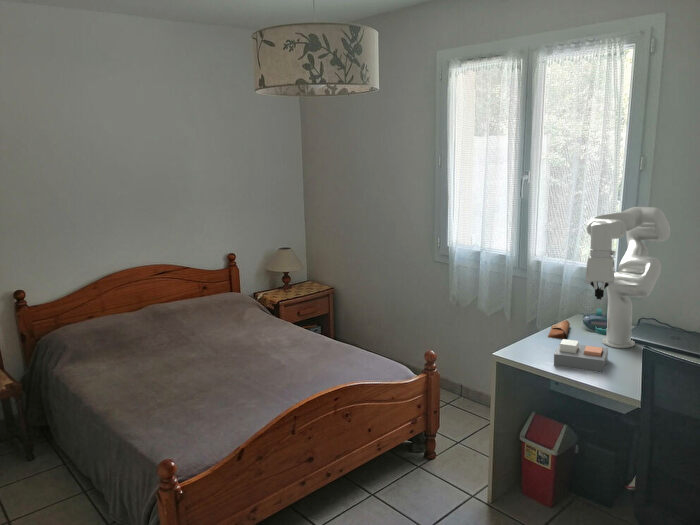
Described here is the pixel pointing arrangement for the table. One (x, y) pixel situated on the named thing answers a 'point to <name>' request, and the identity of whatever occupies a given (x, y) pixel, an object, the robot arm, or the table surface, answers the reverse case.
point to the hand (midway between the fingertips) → (599, 298)
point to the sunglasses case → (559, 330)
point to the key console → (581, 359)
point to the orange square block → (593, 351)
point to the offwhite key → (569, 346)
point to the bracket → (600, 330)
